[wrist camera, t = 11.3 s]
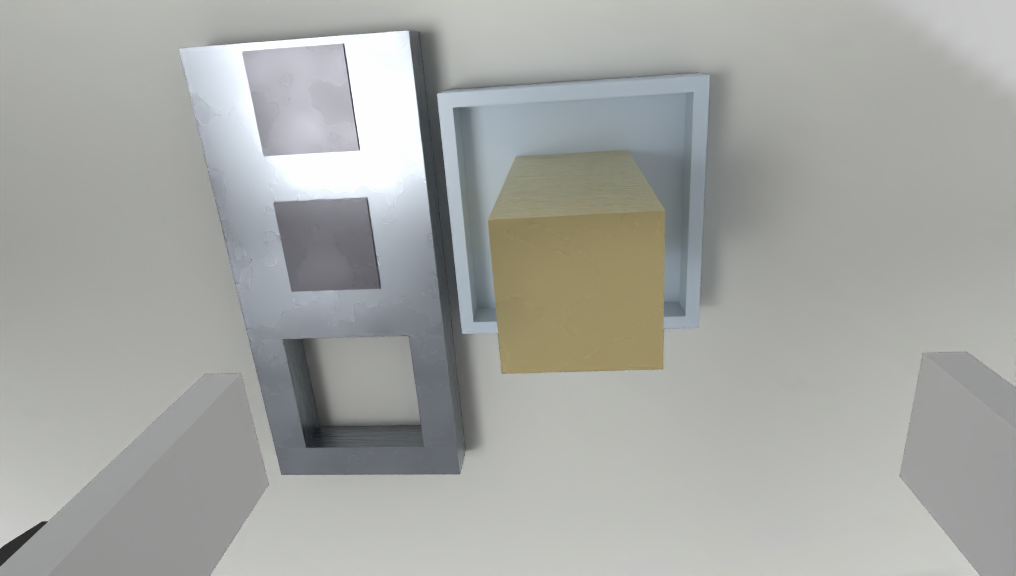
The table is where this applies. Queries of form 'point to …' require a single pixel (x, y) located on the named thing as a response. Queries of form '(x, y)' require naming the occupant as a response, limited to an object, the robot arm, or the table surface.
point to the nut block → (578, 265)
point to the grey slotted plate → (332, 232)
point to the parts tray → (576, 129)
